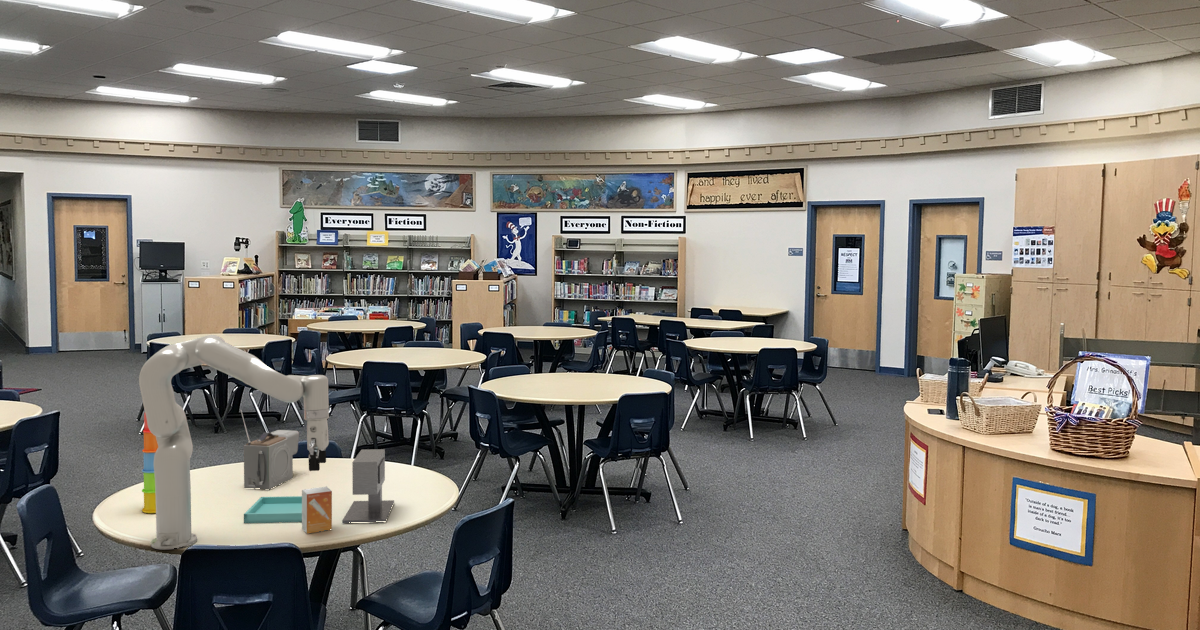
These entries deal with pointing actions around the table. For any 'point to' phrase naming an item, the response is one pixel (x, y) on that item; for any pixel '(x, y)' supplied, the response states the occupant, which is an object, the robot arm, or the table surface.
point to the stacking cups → (149, 469)
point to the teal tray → (275, 510)
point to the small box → (316, 509)
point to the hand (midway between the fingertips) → (317, 466)
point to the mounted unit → (369, 488)
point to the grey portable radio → (269, 458)
